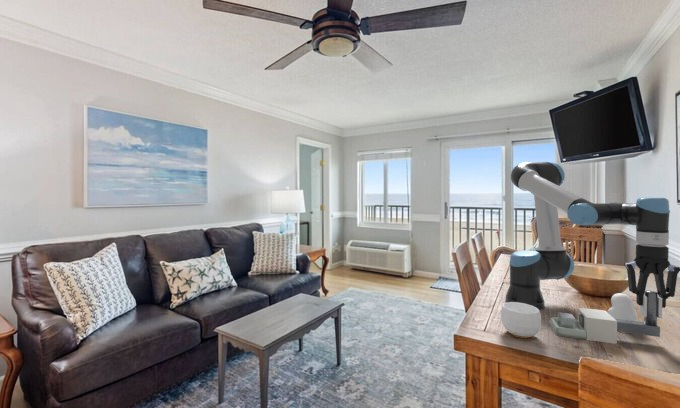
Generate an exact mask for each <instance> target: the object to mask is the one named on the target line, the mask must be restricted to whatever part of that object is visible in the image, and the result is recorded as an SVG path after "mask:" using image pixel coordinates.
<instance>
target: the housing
mask: <svg viewBox="0 0 680 408" xmlns="http://www.w3.org/2000/svg"><path fill="white" fill-rule="evenodd" d="M579 315H583V316H584V327H581V325H580V324H579ZM577 321H578V328H579V329H580V330H585V331H586V340H587V341H594V342H601V343H606V344H613V345H618V341H617V340H618V331H617V321H616V320H615V319H614V318H613V317H612V316H611V315H610V314H608V311H606V310H603V309H602V310H601V309H595V308H586V307H585V308H584V307H577ZM586 340H585V341H586Z"/></svg>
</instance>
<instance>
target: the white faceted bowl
mask: <svg viewBox="0 0 680 408" xmlns="http://www.w3.org/2000/svg"><path fill="white" fill-rule="evenodd" d="M500 320H501V324H502V326H503V328H504V329H505V330H506V331H507V332H508V333H510V334H511V335H512V336H514V337H515V338H520V339H529V338H530V337H531V338H532V337H534V336H537V334H538V333H539V332H540V329H541V326H542V314H541V311H540V309H538V308H536V307H534V306H532V305H528V304H525V303H518V302H504V303H502V306H501V309H500Z"/></svg>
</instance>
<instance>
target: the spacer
mask: <svg viewBox="0 0 680 408" xmlns="http://www.w3.org/2000/svg"><path fill="white" fill-rule="evenodd" d="M557 318H558V326H559V327H563V328H570V329H575V320H576V318H575V316H573V314H572V313H568V312H567V313H566V312H558V311H557Z"/></svg>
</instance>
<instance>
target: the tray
mask: <svg viewBox="0 0 680 408" xmlns="http://www.w3.org/2000/svg"><path fill="white" fill-rule="evenodd" d="M549 319H550V320H549V325H550V326H551V329H552V331H553V332H554V334H555V335H556V336H558V337H564V338H565V337H566V338H571V339H579V340H580V339H581V340H585V341H586V331H585V330H580V329H579V328H578V319H575V329H570V328H563V327H559V326H558V317H553V316H552V317H551V316H550V318H549Z"/></svg>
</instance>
